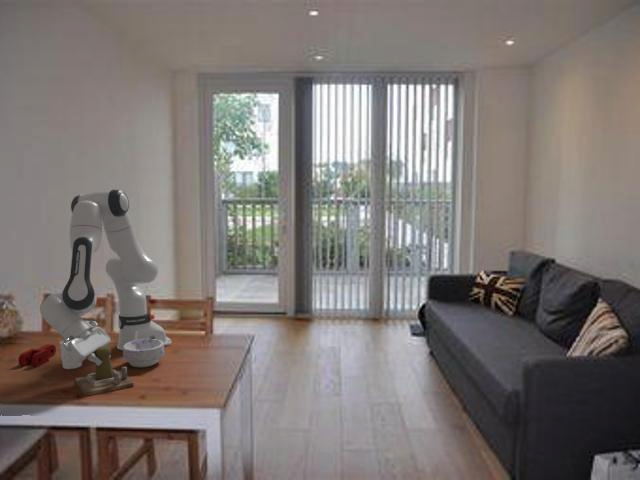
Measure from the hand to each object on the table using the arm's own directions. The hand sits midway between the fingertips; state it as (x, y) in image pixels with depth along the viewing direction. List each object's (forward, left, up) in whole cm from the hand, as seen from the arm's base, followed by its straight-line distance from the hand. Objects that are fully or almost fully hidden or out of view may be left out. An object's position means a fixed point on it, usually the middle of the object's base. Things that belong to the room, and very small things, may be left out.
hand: (105, 361), depth 195 cm
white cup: (+6, -26, -8) cm, 28 cm away
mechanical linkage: (+16, -40, -9) cm, 44 cm away
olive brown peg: (0, 0, -6) cm, 6 cm away
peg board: (0, 0, -8) cm, 8 cm away
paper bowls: (-18, -14, -8) cm, 24 cm away
